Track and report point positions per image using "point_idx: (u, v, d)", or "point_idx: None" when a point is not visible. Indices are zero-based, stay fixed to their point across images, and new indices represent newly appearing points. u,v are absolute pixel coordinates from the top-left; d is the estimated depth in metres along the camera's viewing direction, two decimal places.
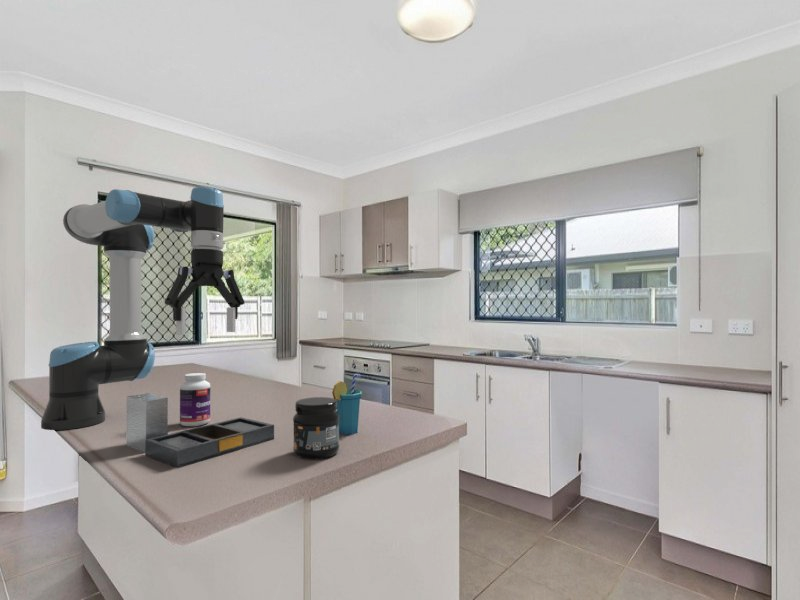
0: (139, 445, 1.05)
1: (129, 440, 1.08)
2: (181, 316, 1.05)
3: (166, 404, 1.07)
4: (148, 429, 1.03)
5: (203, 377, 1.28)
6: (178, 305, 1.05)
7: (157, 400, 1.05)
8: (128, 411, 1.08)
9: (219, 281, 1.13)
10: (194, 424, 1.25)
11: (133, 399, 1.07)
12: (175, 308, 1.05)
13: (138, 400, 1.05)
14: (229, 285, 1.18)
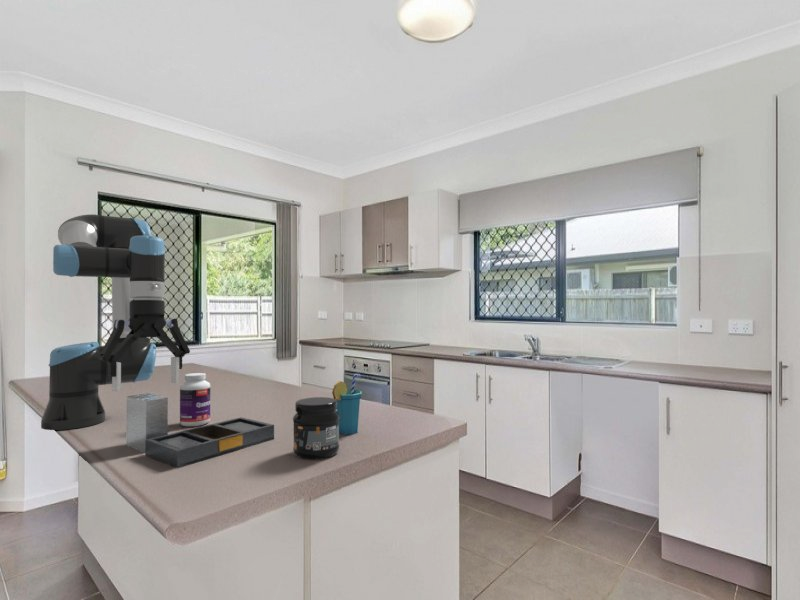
0: (139, 445, 1.05)
1: (129, 440, 1.08)
2: (116, 372, 1.01)
3: (166, 404, 1.07)
4: (148, 429, 1.03)
5: (203, 377, 1.28)
6: (112, 361, 1.01)
7: (157, 400, 1.05)
8: (128, 411, 1.08)
9: (160, 332, 1.09)
10: (194, 424, 1.25)
11: (133, 399, 1.07)
12: (109, 364, 1.01)
13: (138, 400, 1.05)
14: (173, 334, 1.14)
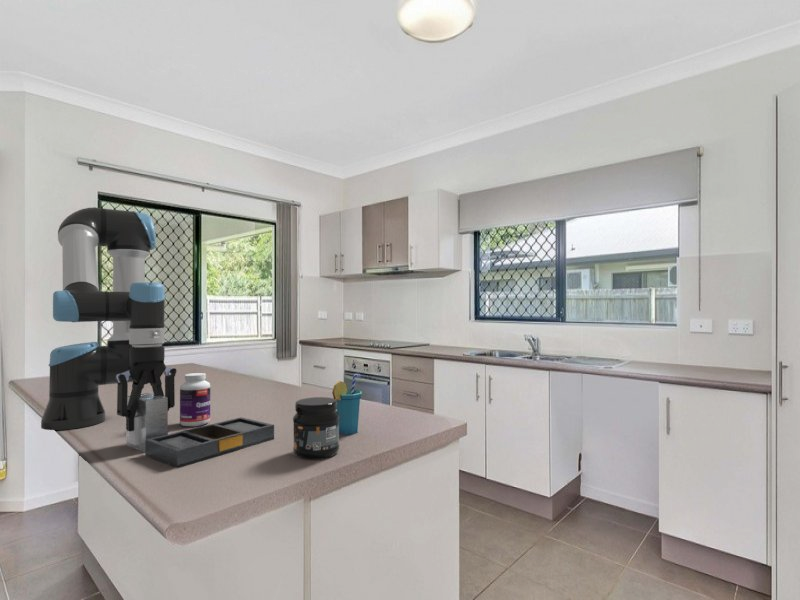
0: (139, 445, 1.05)
1: (129, 440, 1.08)
2: (134, 426, 1.05)
3: (166, 404, 1.07)
4: (148, 429, 1.03)
5: (203, 377, 1.28)
6: (131, 416, 1.04)
7: (157, 400, 1.05)
8: None
9: (156, 379, 1.08)
10: (194, 424, 1.25)
11: None
12: (128, 419, 1.04)
13: (138, 400, 1.05)
14: (166, 383, 1.12)
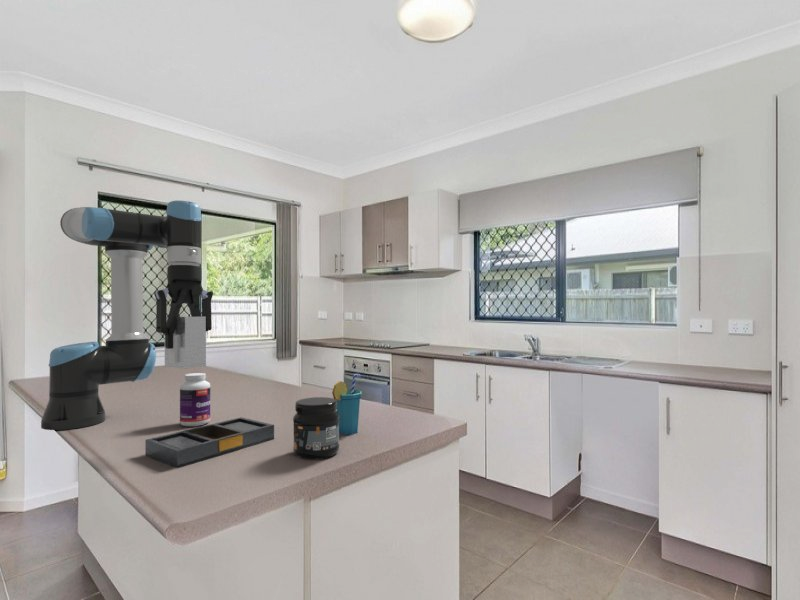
0: (178, 362, 1.04)
1: (167, 360, 1.07)
2: (173, 344, 1.04)
3: (204, 323, 1.06)
4: (187, 345, 1.03)
5: (203, 377, 1.28)
6: (170, 333, 1.03)
7: (195, 317, 1.04)
8: None
9: (194, 299, 1.08)
10: (194, 424, 1.25)
11: None
12: (167, 336, 1.03)
13: (177, 318, 1.05)
14: (203, 306, 1.12)
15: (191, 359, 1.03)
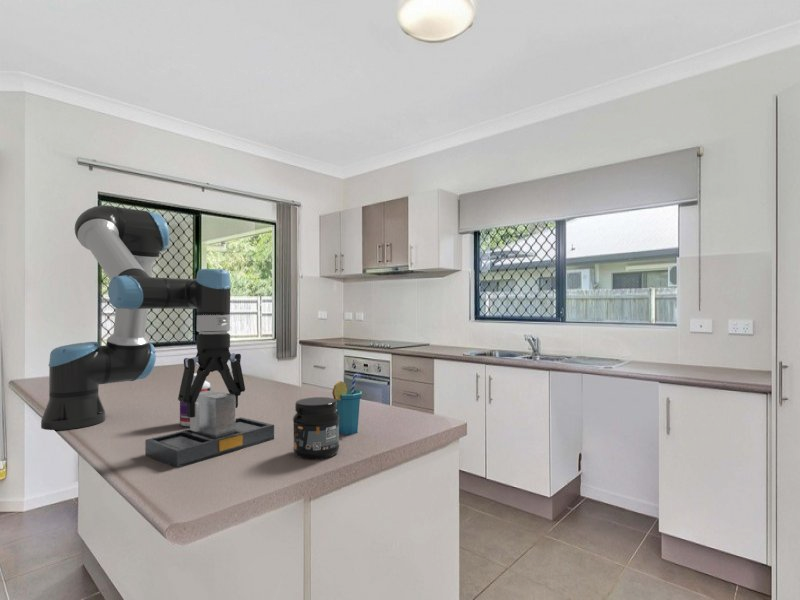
0: None
1: None
2: (195, 412, 1.02)
3: (233, 401, 1.06)
4: (218, 426, 1.03)
5: None
6: (192, 402, 1.02)
7: (225, 397, 1.04)
8: None
9: (224, 366, 1.08)
10: None
11: (200, 396, 1.06)
12: (189, 404, 1.02)
13: (206, 397, 1.04)
14: (233, 369, 1.12)
15: None
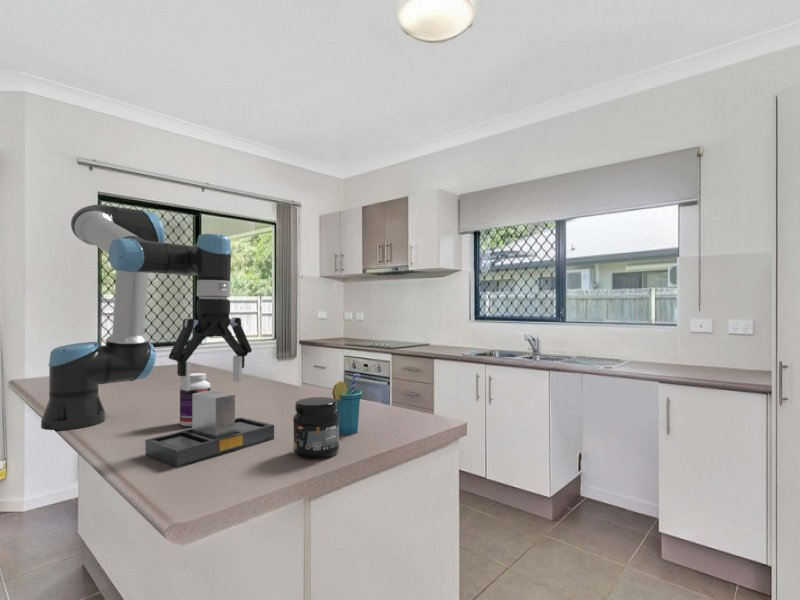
0: None
1: None
2: (186, 371, 1.01)
3: (233, 401, 1.06)
4: (218, 426, 1.03)
5: (203, 377, 1.28)
6: (183, 360, 1.00)
7: (225, 397, 1.04)
8: (194, 408, 1.07)
9: (226, 331, 1.08)
10: None
11: (200, 396, 1.06)
12: (180, 363, 1.00)
13: (206, 397, 1.04)
14: (236, 333, 1.13)
15: None
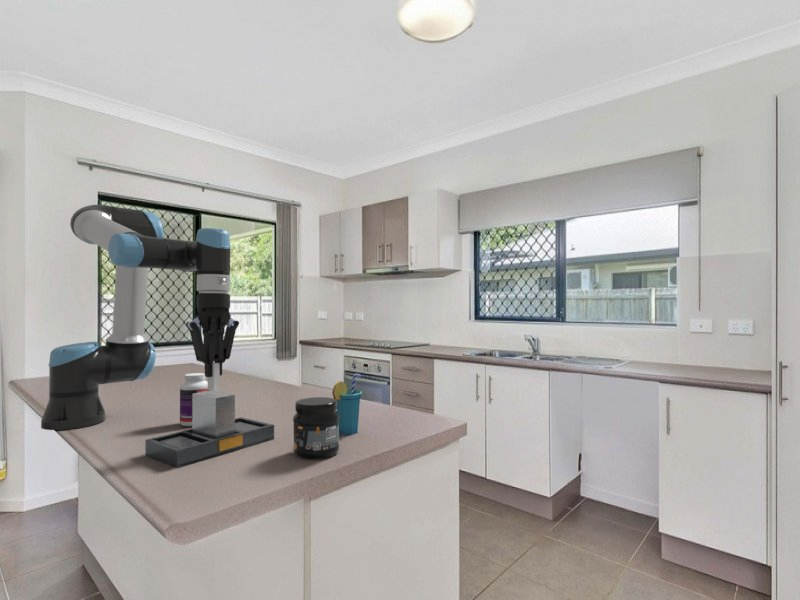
0: None
1: None
2: (212, 372, 1.06)
3: (233, 401, 1.06)
4: (218, 426, 1.03)
5: (203, 377, 1.28)
6: (210, 362, 1.05)
7: (225, 397, 1.04)
8: (194, 408, 1.07)
9: (221, 327, 1.07)
10: None
11: (200, 396, 1.06)
12: (207, 364, 1.05)
13: (206, 397, 1.04)
14: (226, 334, 1.11)
15: None
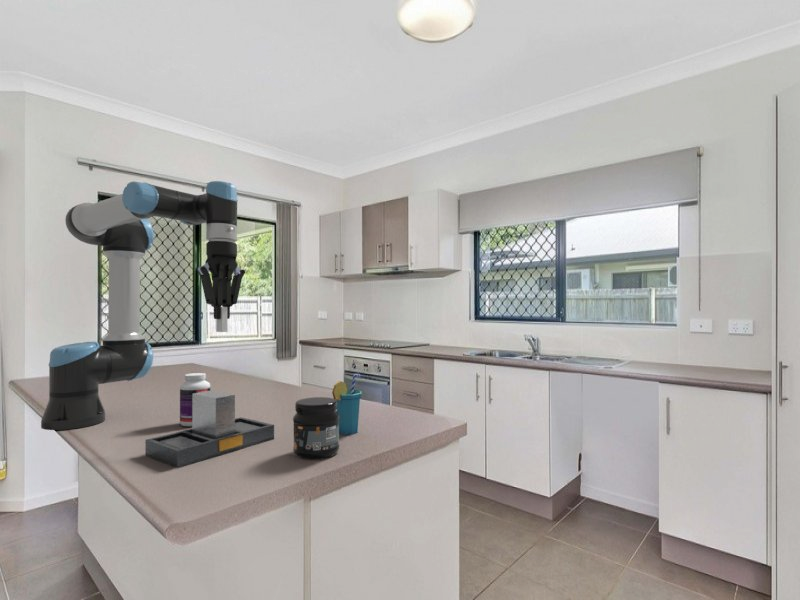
0: None
1: None
2: (221, 315, 1.15)
3: (233, 401, 1.06)
4: (218, 426, 1.03)
5: (203, 377, 1.28)
6: (219, 305, 1.14)
7: (225, 397, 1.04)
8: (194, 408, 1.07)
9: (229, 273, 1.16)
10: None
11: (200, 396, 1.06)
12: (216, 307, 1.14)
13: (206, 397, 1.04)
14: (233, 282, 1.19)
15: None
